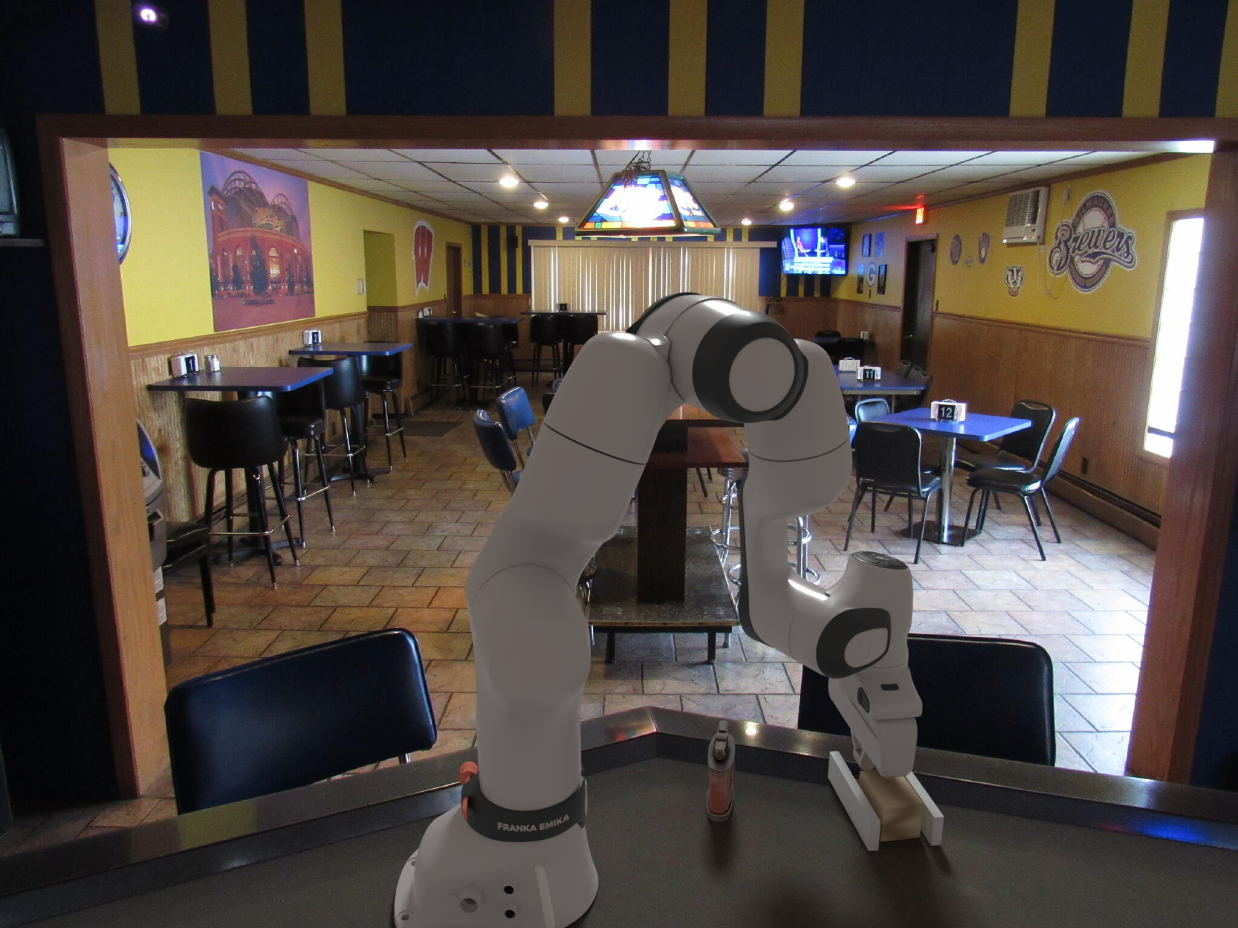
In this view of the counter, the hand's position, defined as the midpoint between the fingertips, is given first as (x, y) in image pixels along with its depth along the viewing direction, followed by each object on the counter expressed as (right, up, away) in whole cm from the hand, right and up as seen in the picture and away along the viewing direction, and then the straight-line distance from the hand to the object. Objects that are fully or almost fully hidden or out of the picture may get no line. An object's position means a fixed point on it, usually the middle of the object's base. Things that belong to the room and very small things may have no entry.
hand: (863, 763), depth 113 cm
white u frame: (+1, -4, -6) cm, 7 cm away
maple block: (+1, -5, -7) cm, 9 cm away
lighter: (-20, -4, -4) cm, 20 cm away
